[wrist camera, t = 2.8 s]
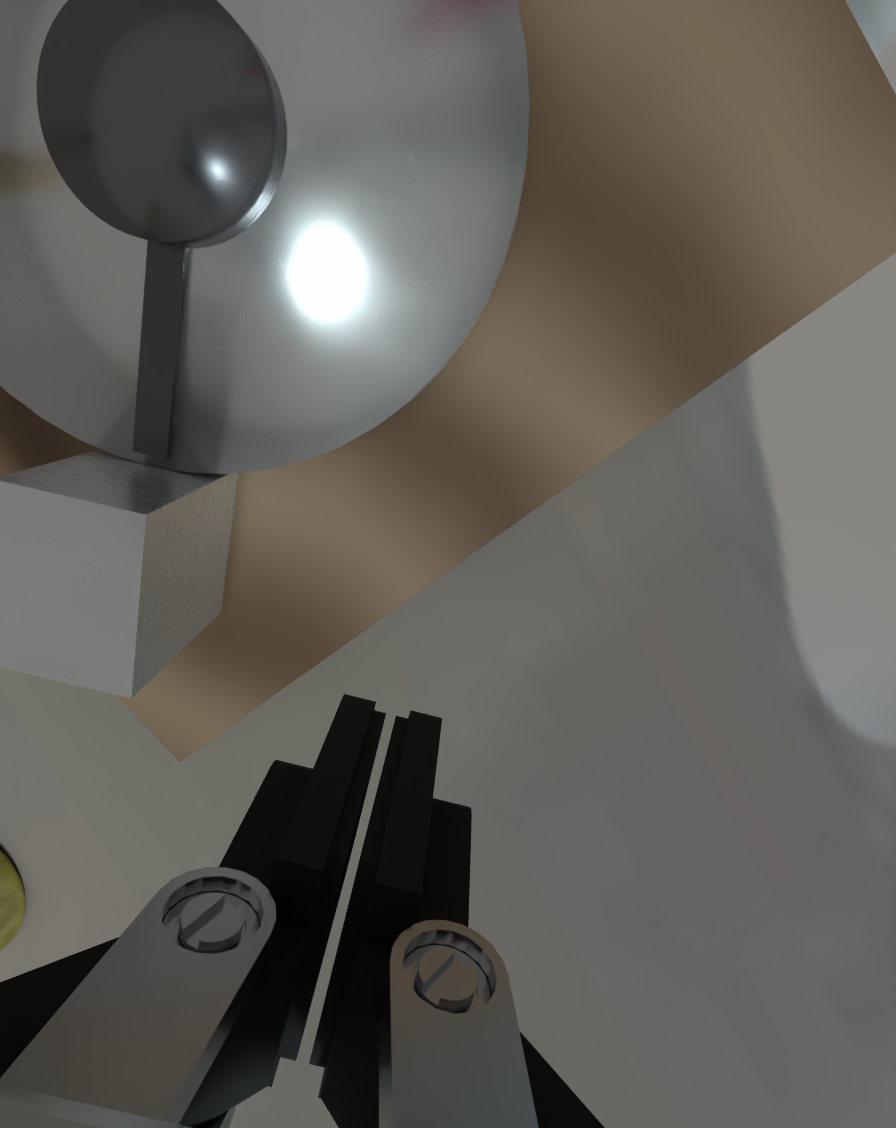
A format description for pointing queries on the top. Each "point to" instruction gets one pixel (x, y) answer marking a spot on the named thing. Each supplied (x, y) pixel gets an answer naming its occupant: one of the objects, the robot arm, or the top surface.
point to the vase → (10, 901)
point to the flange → (224, 276)
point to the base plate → (561, 318)
